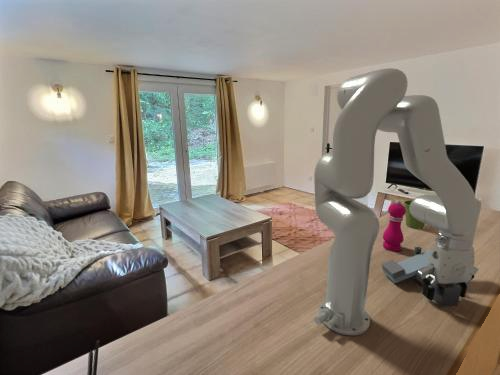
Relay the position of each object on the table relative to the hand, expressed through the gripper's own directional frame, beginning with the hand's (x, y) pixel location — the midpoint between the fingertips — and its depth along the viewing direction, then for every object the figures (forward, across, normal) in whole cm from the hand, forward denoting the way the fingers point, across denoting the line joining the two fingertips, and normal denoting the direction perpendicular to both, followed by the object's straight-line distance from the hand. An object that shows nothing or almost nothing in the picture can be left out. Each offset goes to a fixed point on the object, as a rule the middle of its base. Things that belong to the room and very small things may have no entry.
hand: (443, 295), depth 75 cm
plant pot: (+2, +29, +49) cm, 57 cm away
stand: (+1, +3, +11) cm, 11 cm away
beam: (-5, +3, +11) cm, 12 cm away
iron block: (+2, 0, 0) cm, 2 cm away
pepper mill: (+2, +5, +31) cm, 31 cm away
